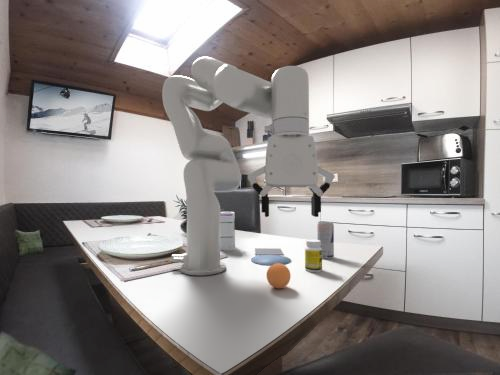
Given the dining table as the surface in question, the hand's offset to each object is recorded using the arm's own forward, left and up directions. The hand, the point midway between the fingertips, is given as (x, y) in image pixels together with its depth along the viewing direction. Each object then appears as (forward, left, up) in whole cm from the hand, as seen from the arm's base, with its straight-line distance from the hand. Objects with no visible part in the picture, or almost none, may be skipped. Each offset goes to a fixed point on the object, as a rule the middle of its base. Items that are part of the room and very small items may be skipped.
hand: (290, 216), depth 52 cm
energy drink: (+17, +37, -17) cm, 45 cm away
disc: (-2, +33, -17) cm, 38 cm away
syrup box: (-18, +50, -17) cm, 56 cm away
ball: (-2, +8, -14) cm, 17 cm away
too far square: (-2, +45, -17) cm, 48 cm away
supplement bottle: (+10, +22, -17) cm, 30 cm away
